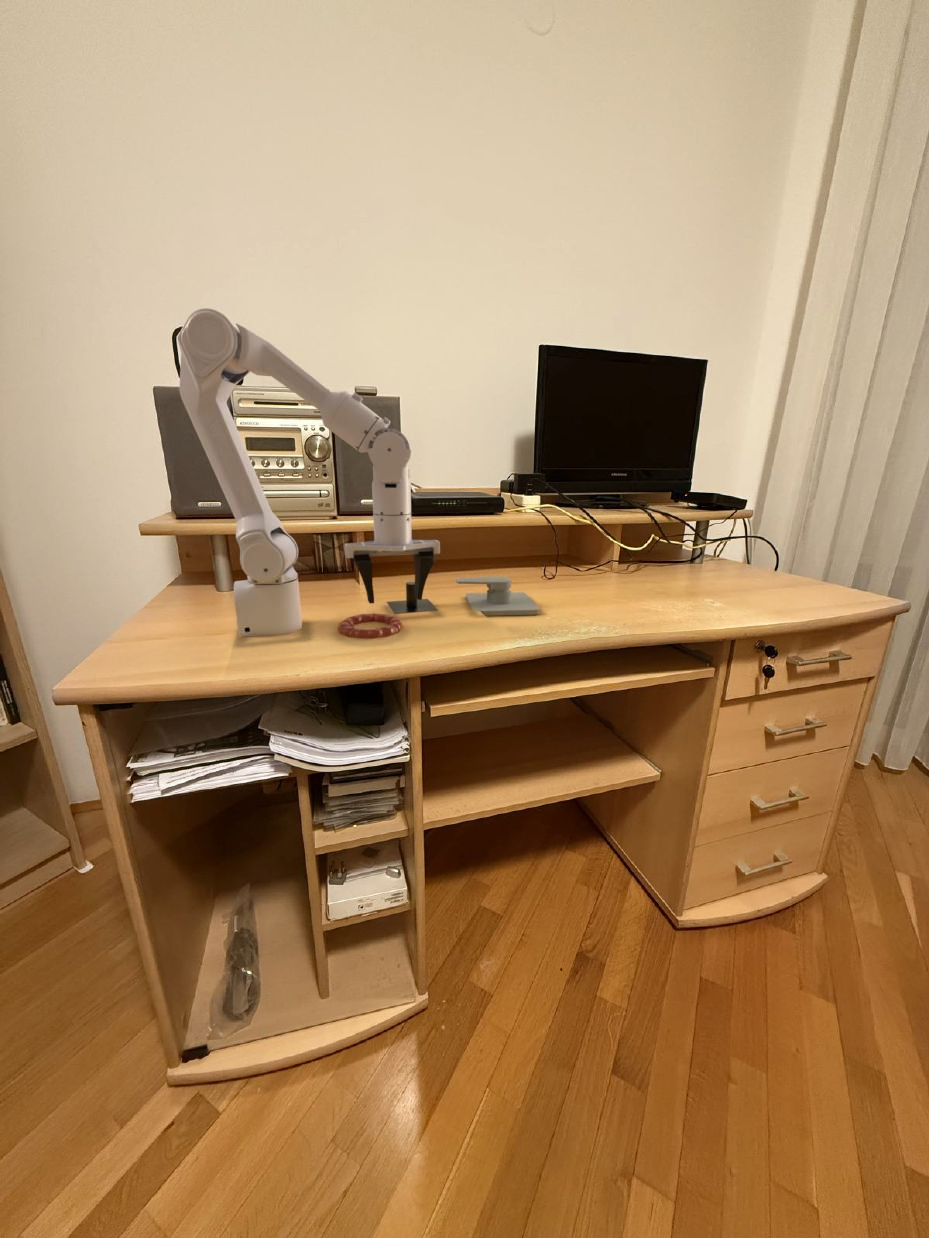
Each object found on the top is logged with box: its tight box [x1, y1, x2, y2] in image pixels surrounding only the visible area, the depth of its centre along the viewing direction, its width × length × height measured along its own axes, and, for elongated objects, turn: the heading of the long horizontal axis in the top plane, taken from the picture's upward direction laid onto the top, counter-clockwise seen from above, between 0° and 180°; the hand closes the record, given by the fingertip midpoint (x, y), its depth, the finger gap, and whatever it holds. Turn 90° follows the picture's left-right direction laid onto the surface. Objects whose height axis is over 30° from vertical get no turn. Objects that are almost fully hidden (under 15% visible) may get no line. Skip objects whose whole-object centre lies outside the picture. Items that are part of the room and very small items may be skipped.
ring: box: [337, 612, 404, 640], centre depth 78 cm, size 10×10×2 cm
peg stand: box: [386, 581, 439, 615], centre depth 90 cm, size 8×8×5 cm
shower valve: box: [455, 576, 540, 617], centre depth 94 cm, size 12×6×15 cm
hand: (395, 599), depth 78 cm, fingers open, 7 cm apart
